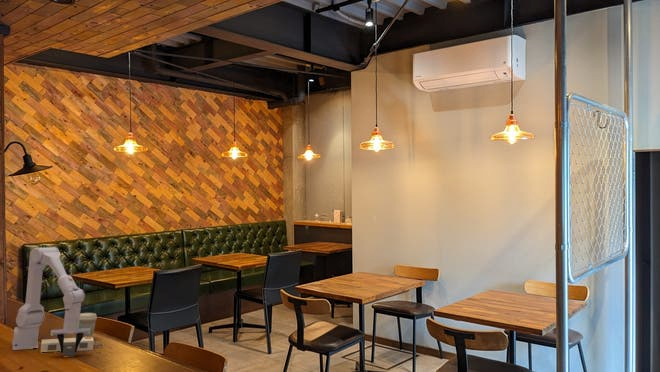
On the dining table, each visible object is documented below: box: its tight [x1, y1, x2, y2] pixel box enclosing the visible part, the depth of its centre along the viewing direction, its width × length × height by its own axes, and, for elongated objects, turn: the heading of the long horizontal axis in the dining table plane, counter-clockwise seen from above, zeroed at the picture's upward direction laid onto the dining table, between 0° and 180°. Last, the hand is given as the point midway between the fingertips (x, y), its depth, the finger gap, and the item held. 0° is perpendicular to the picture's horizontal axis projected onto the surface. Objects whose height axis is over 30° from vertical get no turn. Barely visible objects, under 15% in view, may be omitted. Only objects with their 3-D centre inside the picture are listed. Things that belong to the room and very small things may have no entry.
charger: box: [61, 342, 76, 358], centre depth 206 cm, size 4×6×5 cm
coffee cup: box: [79, 312, 98, 338], centre depth 232 cm, size 8×9×12 cm
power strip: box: [40, 337, 103, 353], centre depth 216 cm, size 24×7×4 cm, turn 120°
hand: (68, 352), depth 206 cm, fingers closed on charger, 4 cm apart
